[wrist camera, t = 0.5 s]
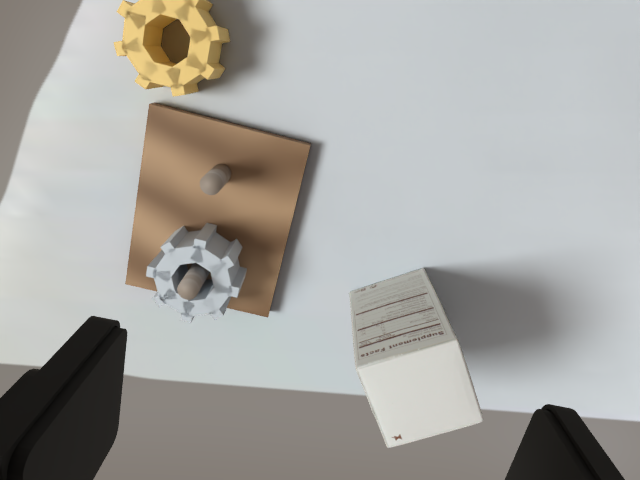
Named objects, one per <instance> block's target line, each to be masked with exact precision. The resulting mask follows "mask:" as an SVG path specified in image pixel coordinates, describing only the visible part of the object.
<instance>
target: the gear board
mask: <svg viewBox="0 0 640 480" xmlns="http://www.w3.org/2000/svg"><path fill="white" fill-rule="evenodd" d="M310 145H311V143H308V142H304V141H300V140H296V139H292V138H288V137H284V136H281V135H277V134H273V133H269V132H265V131H261V130H257V129H254V128H250V127H246V126H242V125H238V124H234V123H231V122H227V121H223V120H219V119H215V118H211V117H207V116H204V115H200V114H196V113H192V112H188V111H184V110H180V109H177V108H173V107H169V106H165V105H161V104H157V103H151V104H149V110H148V117H147V125H146V133H145V140H144V148H143V155H142V163H141V170H140V178H139V185H138V193H137V200H136V208H135V215H134V223H133V231H132V238H131V246H130V253H129V261H128V268H127V276H126V283H125V284H128V285H132V286H136V287H140V288H145V289H149V290H153V291H157V288H156V284H155V281H154V278H151V277H147V276H146V272H147V266H148V265H149V264H150V263H151V262H152V260H153V259H154V258H155V257H156V256H157V255H158V254H159V253H160V251H161V250H162V249H161V248H160V247H161V246H162V245H163V244H164V243H165V242H166V240H167V239H168V238H169V237H170V236H171V235H172V234H173V233H174V232H175V231H176V230H178V229H179V228H181V227H183V226H184V227H185V228H186V229H187V231H188V232H191V231H199V230H202V228H203V227H204V226H205V224H206V223H210V224H214V225H217V229H216V233H218V234H219V235H221V236H222V237H224V238H225V239H227V240H228V241H230V242H232V241H234V240H235V239H237V240H238V241H239V243H240V244H241V246H242V250H241V252H240V254H239V256H238V260H239V265H240V267H244V268H247V271H246V275H245V279H244V281H243V284H242V286H241V289H240V292H239V294H238V297H237V298H236V297H232V296H231V299H230V301H229V304H228V306H227V308H230V309H234V310H239V311H243V312H247V313H252V314H256V315H260V316H264V317H268V315H269V311H270V307H271V303H272V299H273V295H274V291H275V287H276V283H277V279H278V275H279V271H280V267H281V263H282V259H283V255H284V251H285V247H286V242H287V238H288V234H289V230H290V226H291V222H292V218H293V214H294V210H295V206H296V202H297V198H298V194H299V190H300V186H301V182H302V178H303V174H304V170H305V166H306V162H307V158H308V154H309V150H310ZM187 268H188V272H187V273H186V275H185V276H184V278H183V279H182V280H181V282H180V283H179V285H178V287H177V292H178V294H179V295H180V296H181V297H182V298H183V299H187V300H191V299H194V298H195V297H196V296H197V294H198V292H199V291H200V289H201V287H202V285H203V284H204V282H205V280H209V279H212V277H211V272H209V271H208V270H206V269H205V268H203V267H202V266H200V265H199V264H197V263H190V264H187Z"/></svg>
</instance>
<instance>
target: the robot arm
mask: <svg viewBox="0 0 640 480" xmlns="http://www.w3.org/2000/svg"><path fill="white" fill-rule="evenodd" d="M126 342H127V330H126V329H122V328H120V323H119V321H116V320H111V319H106V318H101V317H96V316H91V317H90V318H88V319H87V321H86V322H85V323H84V324H83V325H82V326H81V327H80V328H79V329H78V330H77V331H76V332H75V333H74V334H73V335H72V336H71V337H70V338H69V340H68V341H67V342H66V343H65V344H64V345H63V346H62V347H61V348H60V349H59V350H58V351H57V352H56V353H55V354H54V355H53V356H52V358H51V359H50V360H49V361H48V362H47V363H46V364H45V365H44V366H43V367H42V368H41V369H40V370H39V369H32V370H29V371H28V372H26V373H25V374H24V375H23V376H22V377H21V378H20V379H19V380H18V381H17V382H16V383H15V384H14V385H13V386H12V387H11V388H10V389H9V390H8V391H7V392H6V393H5V394H4V395H3V396H2V397H1V398H0V480H93V479H94V477H95V475H96V473H97V472H98V470H99V468H100V466H101V465H102V463H103V461H104V459H105V457H106V456H107V454H108V452H109V450H110V449H111V447H112V445H113V443H114V441H115V438H116V435H117V431H118V425H119V415H120V404H121V394H122V383H123V373H124V363H125V352H126ZM505 480H625V479H624V478H623V477H622V475H621V474H620V472H619V471H618V470H617V468H616V467H615V465H614V464H613V463H612V461H611V460H610V458H609V457H608V456H607V454H606V453H605V452H604V450H603V449H602V447H601V446H600V444H599V443H598V442H597V440H596V439H595V437H594V436H593V435H592V433H591V432H590V430H589V429H588V428H587V426H586V425H585V423H584V422H583V421H582V419H581V418H580V416H579V415H578V414H577V412H576V411H575V410H573V409H571V408H565V407H560V406H555V405H550V404H547V405H545V406H543V407H542V409H537V410H536V411H535V412H534V414H533V416H532V418H531V421H530V423H529V425H528V427H527V430H526V432H525V434H524V437H523V439H522V442H521V444H520V446H519V448H518V450H517V453H516V455H515V457H514V460H513V462H512V464H511V467H510V469H509V471H508V473H507V476H506V478H505Z"/></svg>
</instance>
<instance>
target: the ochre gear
mask: <svg viewBox="0 0 640 480" xmlns="http://www.w3.org/2000/svg"><path fill="white" fill-rule="evenodd" d="M212 5H213V4H212V3H210V2H209V1H208V0H140V1H138V2H137V3H135V4H134V3H131V2H127V1H124V0H123V1H122V3H121V5H120V7H119V9H118V11H117V12H118V13H119V14H120V15H122V16H123V17H124V18H125V22H124V31H123V40H122V41H118V42H114V46H115V50H116V53H117V56H127V57H128V58H129V60H130V61H131V63H132V64H133V66H134V67H135V69H136V70H137V72H138V73H139V75H138V77H137V78H136V80H135V82H136V83H137V84H139V85H140V86H142V87H143V88H144V89H151V88H157V87H163V86H168V87H171V90H172V95H173V96H179V95H186V94H190V93H194V92H199V90H198V86H197V83H198V82H199V81H201V80H203V79H204V78H206V79H207V80H210V79H216V78H220V76H221V75H222V73H223V72H224V70H225V69H226V68H224V67H223V66H222V65H220V64H219V59H220V53H221V47H222V43H226V42H230V37H229V32H228V29H225V28H222V27H219V26H217V25H216V24H215V22H214V20H213V19H212V17H211V15H210V14H209V10H210V9H211V7H212ZM176 19H179V20H180V21H181V23H182V24H183V26H184V28H185V29H186V31H187V32H188V34H189V36H190V44H189V50H188V57H187V58H185V59H184V60H182V61H181V62H179V63H178V64H176V63H173V62H171V61H170V60H169V58H168V57H167V55H166V54H165V52H164V51H163V49H162V48H161V41H162V33H163V28H165V27H166V26H167V25H169V24H170V23H172V22H173V21H175V20H176Z"/></svg>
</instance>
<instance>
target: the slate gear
mask: <svg viewBox="0 0 640 480" xmlns="http://www.w3.org/2000/svg"><path fill="white" fill-rule="evenodd" d="M216 229H217V225H214V224H210V223H206V224H205V226H204V227H203V228H202V230H199V231H191V232H188V231H187V229H186V228H185V227H184V226H183V227H181V228H179V229H178V230H176V231H175V232H174V233H173V234H172V235H171V236H170V237H169V238H168V239H167V240H166V242H165V243H164V244H163V245H162V246H161V247H160V248H161V249H162V250H161V251H160V253H159V254H158V255H157V256H156V257H155V258H154V259H153V260H152V262H151V263H150V264H149V265H148V266H147V272H146V276H147V277H151V278H154V281H155V284H156V288H157V291H158V292H157V293H156V294H155V296H154V297H153V298H152V299H153V300H154V302H155V303H156V304H157V305H158V307H161V306H162V305H164V304H166V305H168V306H169V307H171V308H173V309H174V310H176V311H177V312H179V313H181V318H180V321H184V322H188V323H191V322H192V320H193V318H194V316H200V315H208V314H210V315H211V316H212V318H213V319H214V320H216V319H218V318H220V317H221V316H223V315H224V313H225V311H226V308H227V306H228V304H229V301H230V299H231V296H232V297H236V298H237V297H238V294H239V292H240V289H241V286H242V284H243V281H244V279H245V275H246V271H247V268H244V267H240V265H239V260H238V256H239V254H240V252H241V250H242V246H241V244H240V243H239V241H238V240H237V239H235V240H234V241H232V242H230V241H228V240H227V239H225V238H224V237H222V236H221V235H219V234H218V233H216ZM190 263H197V264H199V265H200V266H202V267H203V268H205V269H206V270H208V271H209V272H211V277H212V279H209V280H205V282H204V284H203V285H202V287H201V289H200V291H199V292H198V294H197V296H196V297H195V298H194V299H191V300H187V299H183V298H182V297H181V296H180V295H179V294H178V292H177V287H178V285H179V283H180V282H181V280H182V279H183V278H184V276H185V275H186V273H187V272H188V268H187V264H190Z"/></svg>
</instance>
